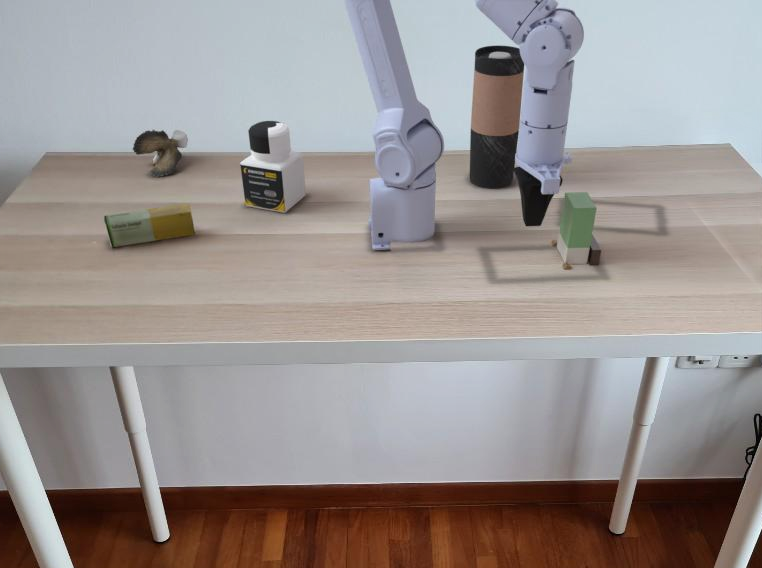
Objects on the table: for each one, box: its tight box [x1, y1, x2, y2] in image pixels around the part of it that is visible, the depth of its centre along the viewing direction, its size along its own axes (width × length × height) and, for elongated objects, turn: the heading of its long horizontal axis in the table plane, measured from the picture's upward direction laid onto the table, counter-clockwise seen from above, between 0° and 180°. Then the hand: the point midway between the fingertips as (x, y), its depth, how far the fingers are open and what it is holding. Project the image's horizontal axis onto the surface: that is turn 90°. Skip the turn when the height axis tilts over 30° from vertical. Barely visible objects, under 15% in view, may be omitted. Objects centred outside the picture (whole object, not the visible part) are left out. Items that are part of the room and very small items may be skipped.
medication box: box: [103, 203, 197, 249], centre depth 115 cm, size 12×3×4 cm, turn 109°
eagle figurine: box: [132, 129, 189, 178], centre depth 136 cm, size 8×7×9 cm
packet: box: [556, 191, 597, 265], centre depth 107 cm, size 8×5×3 cm
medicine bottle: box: [239, 120, 307, 214], centre depth 123 cm, size 7×7×12 cm
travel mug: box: [469, 45, 525, 189], centre depth 127 cm, size 8×8×20 cm
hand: (532, 224), depth 107 cm, fingers closed
